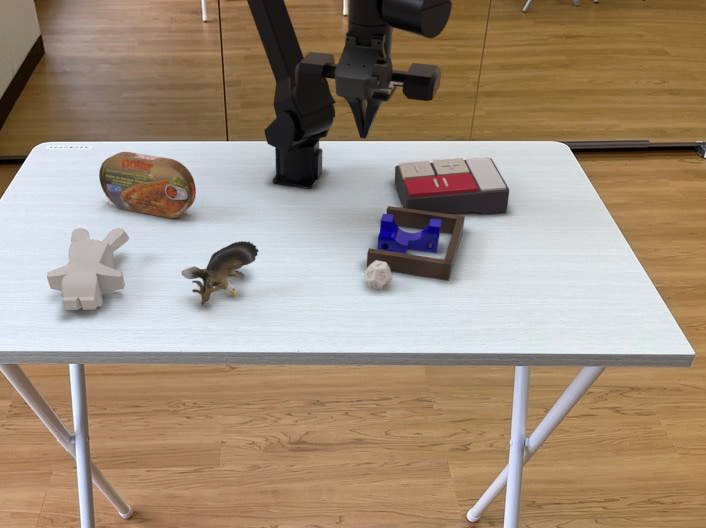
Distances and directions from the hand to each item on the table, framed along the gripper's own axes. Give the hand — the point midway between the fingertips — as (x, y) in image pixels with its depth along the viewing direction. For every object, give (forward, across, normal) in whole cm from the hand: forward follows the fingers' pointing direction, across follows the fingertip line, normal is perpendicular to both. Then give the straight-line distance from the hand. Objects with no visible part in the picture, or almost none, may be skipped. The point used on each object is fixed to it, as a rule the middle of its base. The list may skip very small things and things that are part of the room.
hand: (363, 137), depth 109 cm
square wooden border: (+11, +10, -9) cm, 17 cm away
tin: (+11, -30, -10) cm, 33 cm away
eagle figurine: (+11, -11, -27) cm, 31 cm away
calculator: (+11, +12, +7) cm, 18 cm away
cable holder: (+11, +9, -9) cm, 17 cm away
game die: (+11, +8, -19) cm, 23 cm away
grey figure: (+11, -28, -30) cm, 43 cm away
